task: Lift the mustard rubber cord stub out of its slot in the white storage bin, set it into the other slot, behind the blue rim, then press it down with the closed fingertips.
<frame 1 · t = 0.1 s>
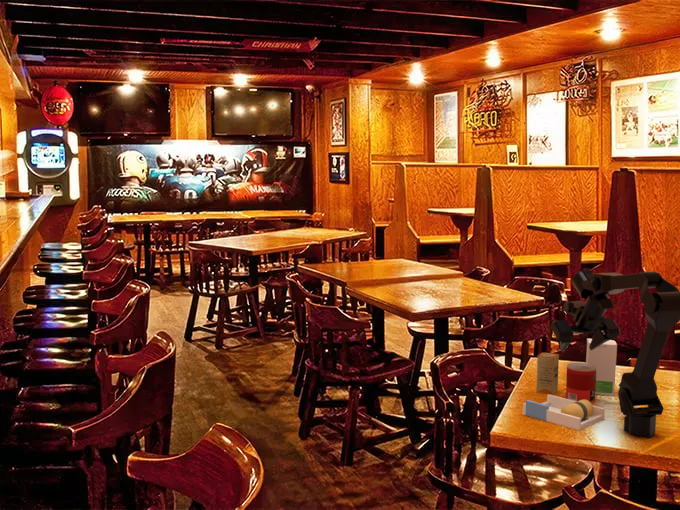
hand: (576, 350, 220), 15 cm above the table, tool tilted 35°, fingers open, 9 cm apart
shoe polish box: (546, 395, 227), on the table
skincare box: (599, 392, 230), on the table
cord: (577, 420, 201), point 1 cm above the table, touching white storage bin
canned food: (580, 403, 219), on the table
white storage bin: (562, 420, 204), on the table
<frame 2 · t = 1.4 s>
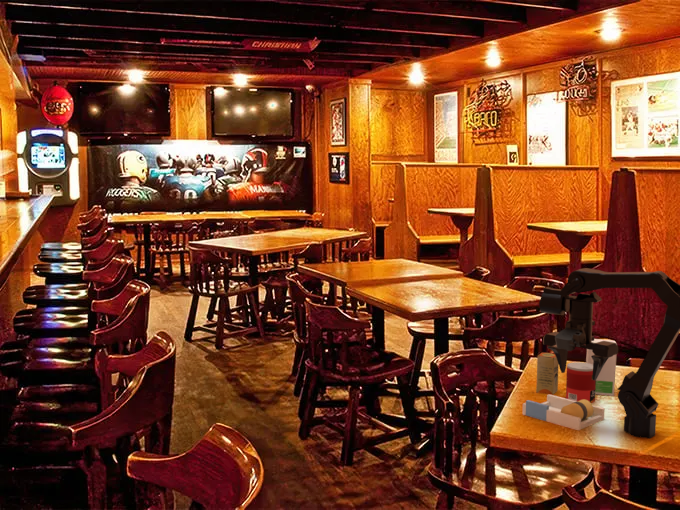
hand: (578, 376, 200), 13 cm above the table, tool pointing down, fingers open, 9 cm apart
nothing on the table moved.
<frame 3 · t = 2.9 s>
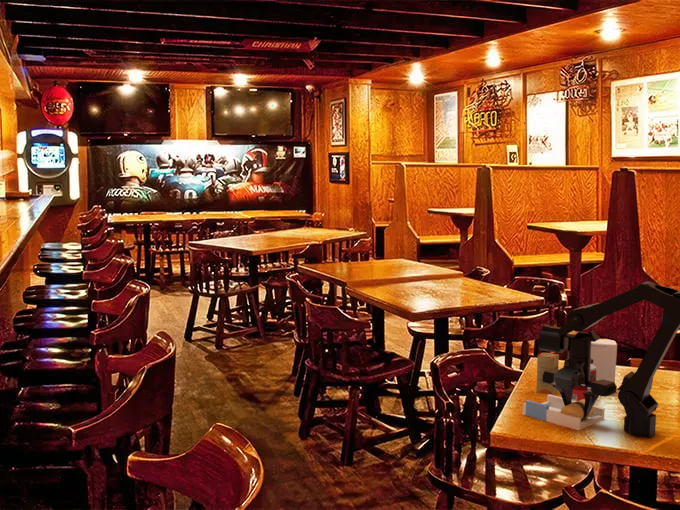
hand: (577, 413, 201), 3 cm above the table, tool pointing down, fingers closed on cord, 5 cm apart
cord: (577, 420, 201), point 1 cm above the table, touching white storage bin, gripper
everything else where it was.
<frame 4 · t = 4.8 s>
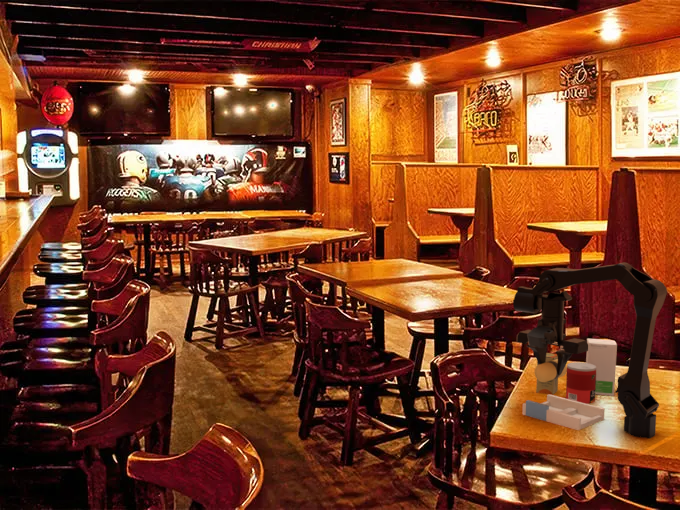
hand: (550, 372, 206), 12 cm above the table, tool pointing down, fingers closed on cord, 5 cm apart
cord: (550, 379, 206), point 10 cm above the table, touching gripper
everything else where it was.
when the fingers open (4 cm above the table, at t = 6.6 s): cord drops 1 cm, resting on white storage bin.
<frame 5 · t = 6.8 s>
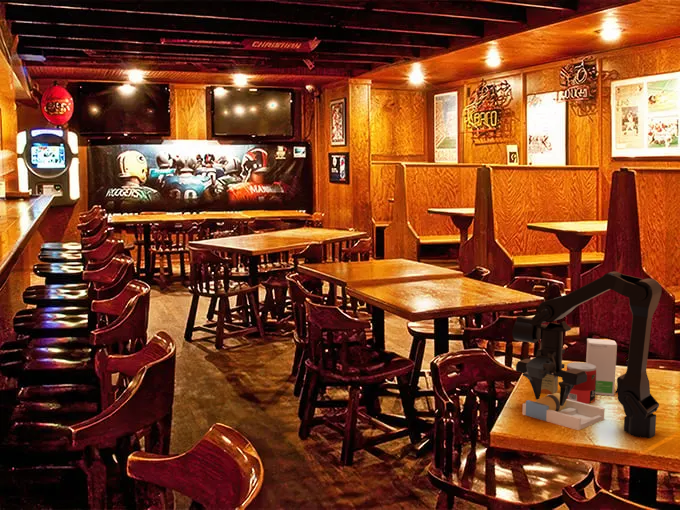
hand: (549, 402, 207), 4 cm above the table, tool pointing down, fingers open, 7 cm apart
cord: (549, 412, 207), point 1 cm above the table, touching white storage bin
everything else where it was.
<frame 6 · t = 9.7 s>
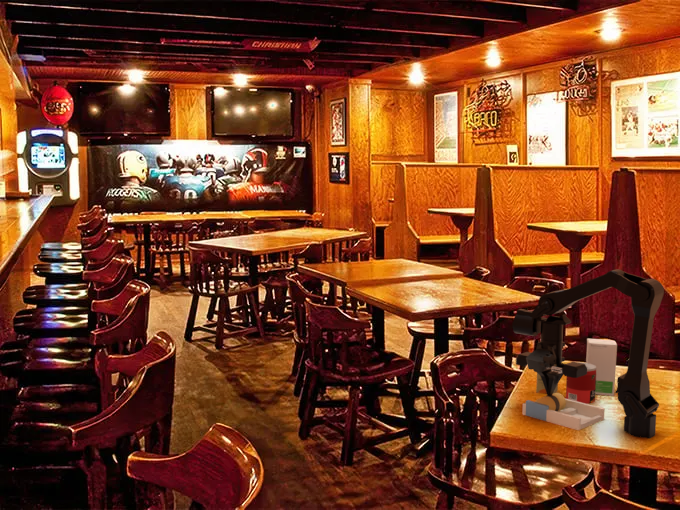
hand: (549, 395, 207), 6 cm above the table, tool pointing down, fingers closed, pressing on cord
cord: (549, 413, 207), point 1 cm above the table, touching white storage bin, gripper
everything else where it was.
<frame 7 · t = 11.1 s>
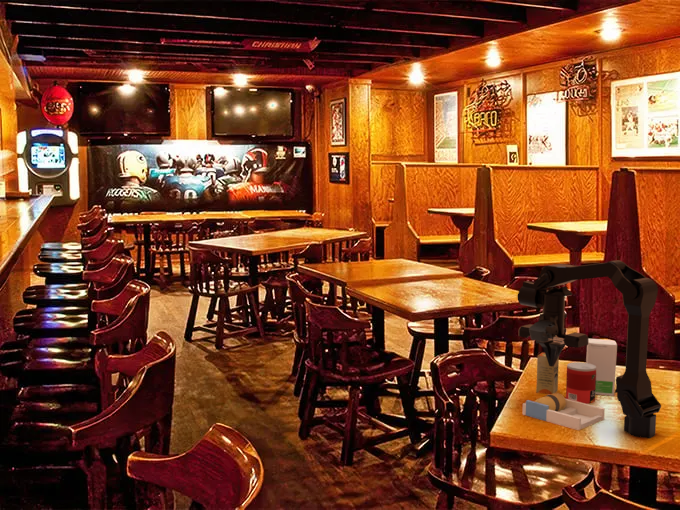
hand: (551, 366, 211), 13 cm above the table, tool pointing down, fingers closed
cord: (549, 413, 207), point 1 cm above the table, touching white storage bin
everything else where it was.
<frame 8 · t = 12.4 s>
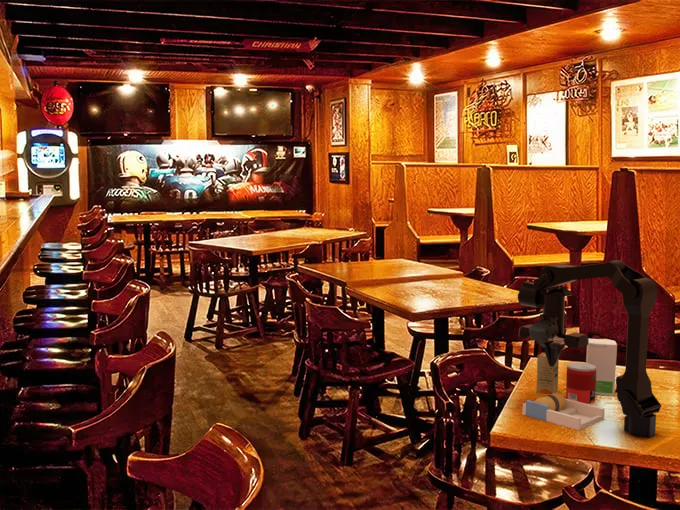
hand: (551, 366, 211), 12 cm above the table, tool pointing down, fingers closed
nothing on the table moved.
at the end: cord 0.0 cm from the target spot on the white storage bin, point 1.0 cm above the white storage bin's base; the gripper is holding nothing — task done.
